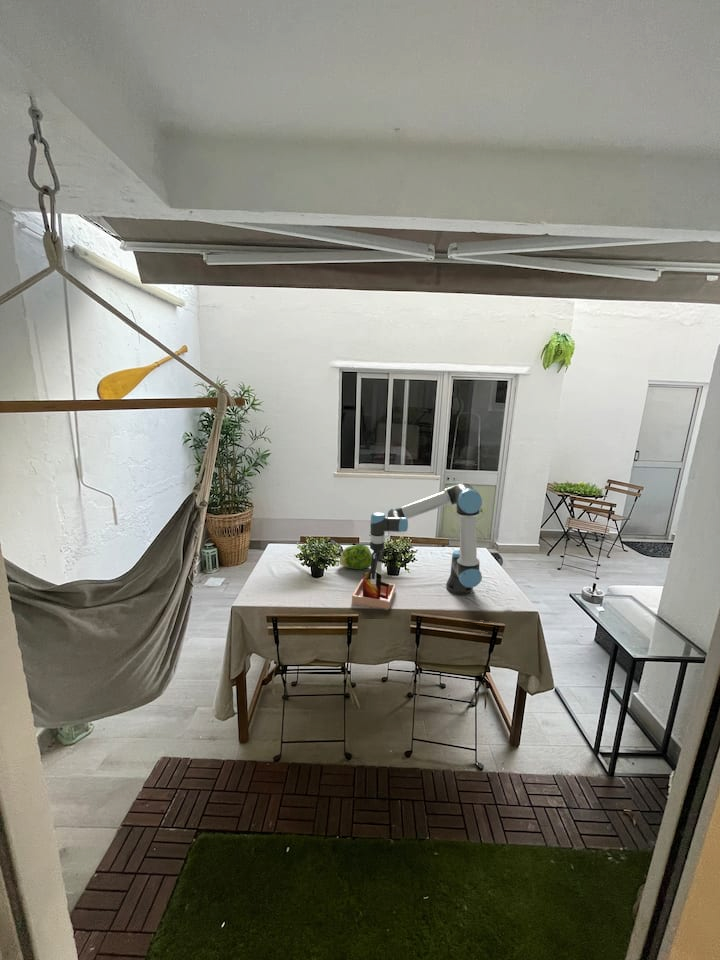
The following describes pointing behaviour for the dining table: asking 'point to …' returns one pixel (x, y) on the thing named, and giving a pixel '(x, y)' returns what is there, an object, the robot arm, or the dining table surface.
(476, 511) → the robot arm
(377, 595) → the mug
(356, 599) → the tray
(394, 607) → the dining table surface
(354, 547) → the lettuce
